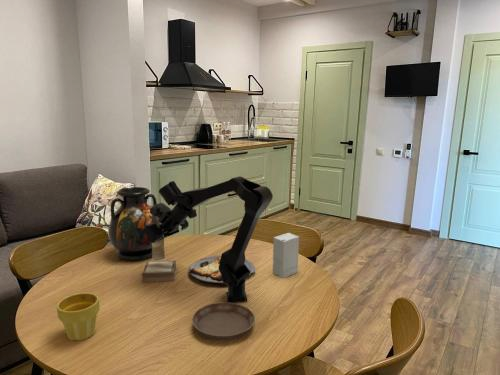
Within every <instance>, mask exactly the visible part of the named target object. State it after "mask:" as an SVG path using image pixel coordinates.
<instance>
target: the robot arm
mask: <svg viewBox="0 0 500 375" xmlns="http://www.w3.org/2000/svg"><path fill="white" fill-rule="evenodd" d="M231 192H234V193H235V194H236V195H237V196H238V197H239V199H241V200H242V201H244V203H243V204H244V206H243V207H244V214H243V217H242V220H241V223H240V225H239V227H238V230H237V232H236V235H235V237H234V240H233V242H232V244H231V248H229V249H227V250H225V251H224V252H222V253H221V255H220V256H221V259H220V261H219V262H218V264H219V270H220V273H221V276H222V279H223V283H222V284H224V285H226V286H227V291H226V292H225V294H226V295H225V296H226V303H244V302H248V297H247V292H246V279H248V278H249V277H250V275H251V274H252V273H251V272H250V270H249V269H248V268H247V266H246V265H245V264H244V263H245V259H246V254H245V253H246V250H247V248H248V245H249V243H250V240H251V239H252V235H253V233H254V231H255V228H256V226H257V223H258V222H259V218H260V217H261V215H262V214H263V213H264V212H265V210H266V209H267V208H268V207H269V205H270V203H271V202H272V200H273V196H274V195H273V193H272V191H271V189H270V188H269V187H267V186H266V185H265V186H264V185H261V184H259V183H257V182H254V181H251V180H248V179H247V178H245V177H243V176H241V175H240V176H236V177H235V176H234V177H232V178H230V179H229V180H226V181H223V182H220V183H217V184H214V185H211V186H209V187H200V188H199V187H198V188H194V189H191V190H187V191H183V192H182V190H181V189H180V188H179V186H178V185H177V183H176V182H175V180H172V181H169V182H168V183H166V184H165V185H164V186H162V187H161V188H160V189H159V190H158V193H159V195H160V196H161V197H162V199H163V200H164V201H165V203H166V204H167V205H166V204H165V203H163V202H159V203H157V204H155V205H154V206H153V205H152V206H151V208H150V214H151V215H153V216H154V217H155V216H157V217H158V218H159V220H158V221H159V222H160V223H161V224H160V225H158V226H159V228H158V226H157V225H156V224H155V223H151V224H148V225H146V226H145V227H144V228H143V231H144V233H145V234H146V236H147V237H148V238H149V240H150V242H151V243H154V242H157V241H160V240H162V239H164V240H165V238H168V237H170V236H173V235H176V234H178V233H180V231H184V230H186V229H187V228H188V227H189V221H188V220H187V219H188V218H189V219H190V220H191V219H193V218H196V217H198V213H197V209H195V208H196V207H199V206H201V205H203V204H206V203H207V202H208V201H209V200H211V199H213V198H215V197H218V196H221V195H225V194H228V193H231ZM169 206H173V207H172V209H171V208H170V207H169ZM180 227H181V228H180ZM163 235H164V237H163ZM250 273H251V274H250Z"/></svg>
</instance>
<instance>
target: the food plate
mask: <svg viewBox="0 0 500 375" xmlns="http://www.w3.org/2000/svg"><path fill="white" fill-rule="evenodd" d="M220 259H221V255H213V256H206V257H203V258H200V259H199V260H197V261H195V262H193V263H192V264H190V265H189V267H188V274H190V276H191V277H193V278H195V279H197V280H199V281H201V282H204V283H215V284H224V283H223V279H222V276H221V273H220V270H219V264H218V262H219V261H220ZM244 264H245V265H246V266H247V268H248V269H249V270H250V272H251V273H250V275H251V274H253V273H255V272H256V267H255V266H254V263H252V262H251V261H249V260H248V259H246V258H245V263H244Z"/></svg>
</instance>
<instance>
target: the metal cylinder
mask: <svg viewBox="0 0 500 375" xmlns="http://www.w3.org/2000/svg"><path fill="white" fill-rule="evenodd" d="M163 237H164V235H163ZM151 257H152V260H154V261H161V260H163V259H164V260H165V258H166V256H165V238H164V239H162V240H160V241H157V242H154V243H152V256H151Z"/></svg>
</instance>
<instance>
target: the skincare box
mask: <svg viewBox="0 0 500 375" xmlns="http://www.w3.org/2000/svg"><path fill="white" fill-rule="evenodd" d="M272 243H273V245H272V246H273V247H272V248H273V250H272V252H273V254H272V274H274V275H276V276H278V277H280V278H282V279H284V278H287V277H289V276H291V275H294V274H297V273H298V272H299V271H298V270H299V251H300V250H299V249H300V236H298V235H295V234H294V233H293V234H292V233H291V232H287V233H283V234H280V235H277V236H274V237H273V242H272Z"/></svg>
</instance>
